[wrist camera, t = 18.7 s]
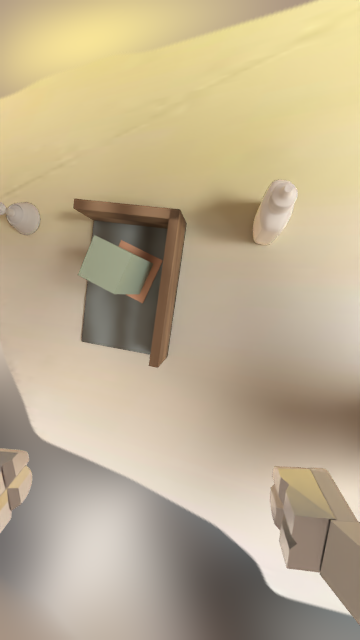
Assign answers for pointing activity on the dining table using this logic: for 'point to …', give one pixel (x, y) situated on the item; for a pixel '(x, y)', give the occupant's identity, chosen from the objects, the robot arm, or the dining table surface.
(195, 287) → the dining table surface
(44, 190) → the dining table surface
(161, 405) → the dining table surface
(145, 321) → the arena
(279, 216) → the eye dropper bottle
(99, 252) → the sage block
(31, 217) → the chalice
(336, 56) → the dining table surface
